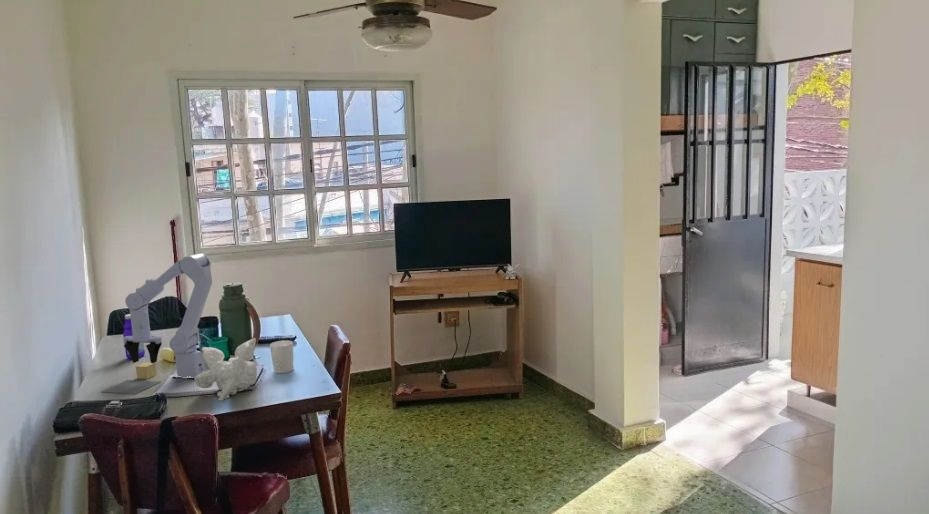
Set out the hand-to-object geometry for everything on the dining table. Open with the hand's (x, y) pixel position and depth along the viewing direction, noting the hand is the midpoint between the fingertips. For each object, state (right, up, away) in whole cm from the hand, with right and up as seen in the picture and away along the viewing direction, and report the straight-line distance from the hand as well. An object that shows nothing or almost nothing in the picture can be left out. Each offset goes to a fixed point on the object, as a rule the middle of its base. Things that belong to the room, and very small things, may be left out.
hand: (144, 362), depth 235 cm
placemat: (0, -7, -11) cm, 13 cm away
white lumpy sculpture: (+37, -7, -19) cm, 43 cm away
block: (0, -5, +1) cm, 5 cm away
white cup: (+50, -3, 0) cm, 50 cm away
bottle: (-17, -3, +27) cm, 32 cm away
